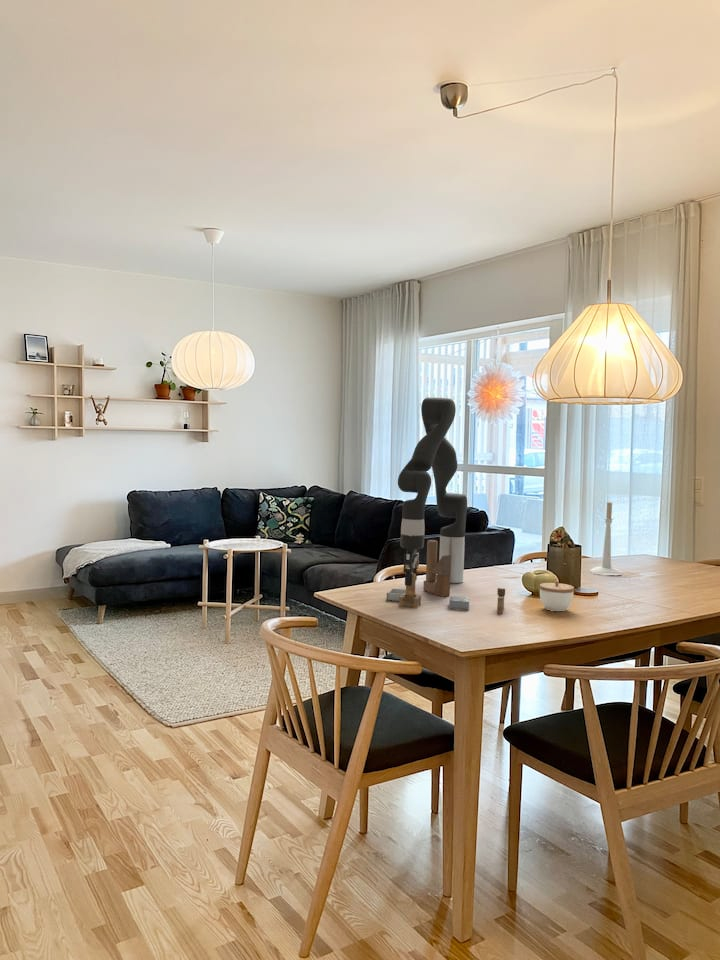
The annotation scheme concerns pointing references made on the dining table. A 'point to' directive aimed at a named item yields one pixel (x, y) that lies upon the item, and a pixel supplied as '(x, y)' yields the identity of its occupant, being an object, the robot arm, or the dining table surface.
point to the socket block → (410, 600)
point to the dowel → (411, 587)
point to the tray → (395, 594)
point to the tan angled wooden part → (437, 571)
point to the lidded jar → (556, 596)
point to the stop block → (500, 600)
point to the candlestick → (607, 546)
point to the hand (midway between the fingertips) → (410, 583)
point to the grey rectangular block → (459, 603)
